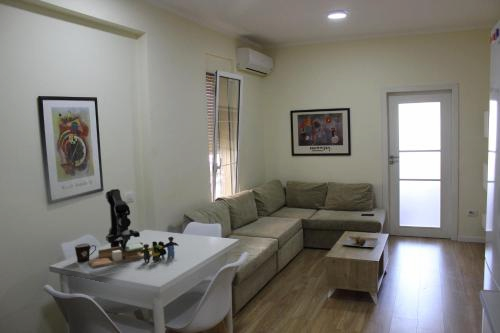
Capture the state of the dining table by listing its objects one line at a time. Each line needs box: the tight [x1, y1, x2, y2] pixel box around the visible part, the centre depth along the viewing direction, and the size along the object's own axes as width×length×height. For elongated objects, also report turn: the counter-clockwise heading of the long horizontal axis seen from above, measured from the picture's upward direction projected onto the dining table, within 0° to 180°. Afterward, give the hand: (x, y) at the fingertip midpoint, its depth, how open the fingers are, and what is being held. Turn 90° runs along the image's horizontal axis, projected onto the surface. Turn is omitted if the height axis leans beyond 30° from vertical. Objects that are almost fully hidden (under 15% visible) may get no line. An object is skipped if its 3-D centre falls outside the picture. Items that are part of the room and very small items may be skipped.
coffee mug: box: [74, 242, 97, 263], centre depth 252 cm, size 12×9×10 cm
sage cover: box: [125, 242, 144, 251], centre depth 255 cm, size 10×11×2 cm
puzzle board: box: [88, 242, 153, 269], centre depth 251 cm, size 13×34×7 cm, turn 124°
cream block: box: [112, 250, 122, 261], centre depth 250 cm, size 4×4×6 cm
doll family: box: [140, 236, 179, 264], centre depth 249 cm, size 23×9×13 cm, turn 139°
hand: (123, 250), depth 249 cm, fingers closed
